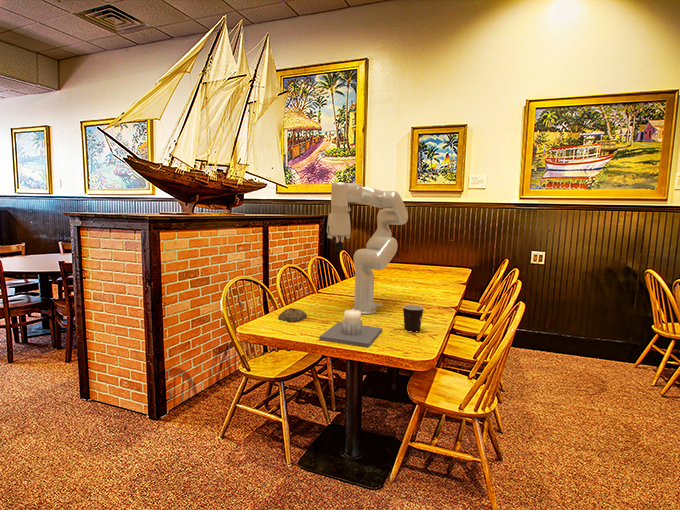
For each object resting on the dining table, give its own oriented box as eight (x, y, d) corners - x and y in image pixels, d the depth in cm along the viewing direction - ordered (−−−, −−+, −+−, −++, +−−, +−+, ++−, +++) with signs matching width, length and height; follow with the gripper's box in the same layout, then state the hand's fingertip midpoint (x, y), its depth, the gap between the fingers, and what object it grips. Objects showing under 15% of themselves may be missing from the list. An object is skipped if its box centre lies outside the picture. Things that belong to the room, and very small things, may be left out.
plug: (356, 328, 154) (356, 308, 153) (362, 333, 148) (363, 313, 147) (341, 330, 152) (341, 310, 151) (347, 335, 146) (348, 314, 145)
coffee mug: (411, 325, 165) (412, 303, 163) (426, 330, 158) (427, 308, 157) (393, 330, 157) (393, 307, 156) (408, 336, 151) (409, 312, 150)
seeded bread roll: (310, 317, 175) (310, 307, 174) (293, 324, 165) (293, 313, 164) (289, 313, 182) (289, 303, 181) (272, 319, 172) (272, 308, 171)
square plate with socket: (338, 325, 163) (338, 312, 162) (382, 331, 156) (382, 317, 155) (319, 340, 145) (319, 325, 144) (368, 347, 137) (369, 331, 137)
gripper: (351, 210, 171) (350, 250, 174) (320, 210, 166) (320, 250, 168) (358, 210, 164) (357, 251, 167) (326, 210, 159) (325, 252, 161)
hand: (338, 251), depth 167 cm, fingers closed
